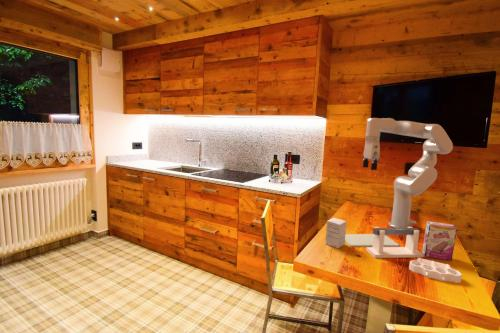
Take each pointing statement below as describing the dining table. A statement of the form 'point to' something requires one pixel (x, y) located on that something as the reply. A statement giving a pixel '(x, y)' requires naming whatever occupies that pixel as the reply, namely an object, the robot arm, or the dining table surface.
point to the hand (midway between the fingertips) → (369, 168)
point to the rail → (395, 231)
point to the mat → (366, 240)
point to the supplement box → (335, 232)
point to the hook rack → (395, 252)
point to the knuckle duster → (435, 270)
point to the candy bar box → (439, 240)
